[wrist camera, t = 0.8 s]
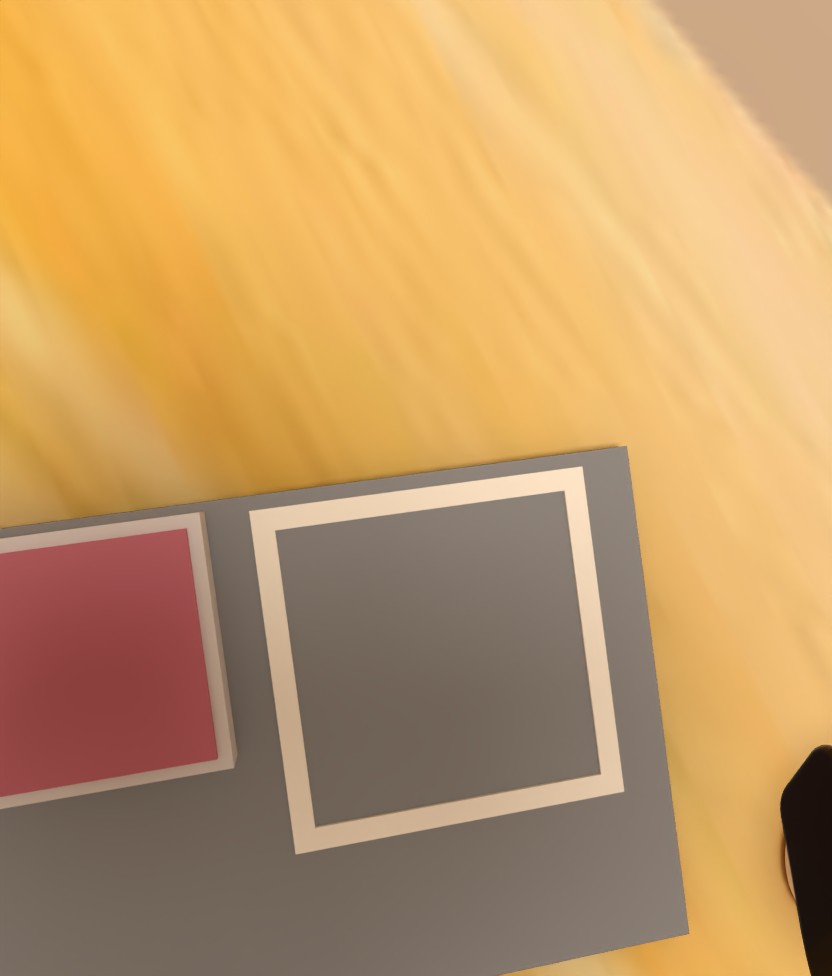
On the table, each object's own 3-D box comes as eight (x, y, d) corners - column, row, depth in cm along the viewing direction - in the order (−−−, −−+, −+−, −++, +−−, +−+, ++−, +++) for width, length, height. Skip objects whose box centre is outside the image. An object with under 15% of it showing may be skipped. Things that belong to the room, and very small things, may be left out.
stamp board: (679, 922, 23) (710, 958, 22) (-45, 1078, 21) (-78, 1133, 19) (618, 447, 23) (644, 443, 21) (-121, 544, 21) (-162, 549, 19)
